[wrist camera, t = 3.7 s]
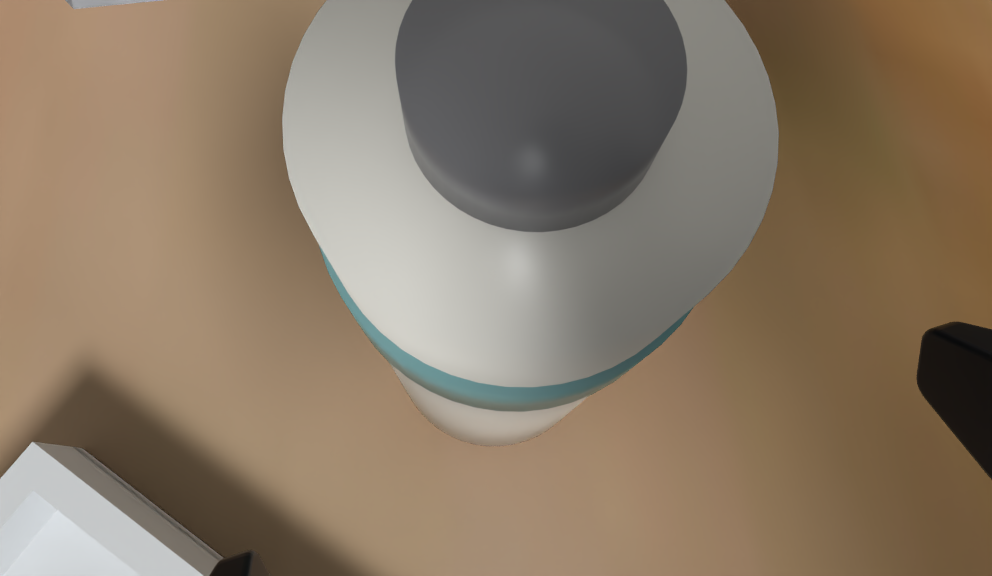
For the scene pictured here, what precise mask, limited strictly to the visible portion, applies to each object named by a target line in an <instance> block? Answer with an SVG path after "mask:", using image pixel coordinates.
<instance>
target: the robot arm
mask: <svg viewBox="0 0 992 576" xmlns="http://www.w3.org/2000/svg"><path fill="white" fill-rule="evenodd" d="M917 384H918V387H919V390H920V391H921V393H922V395H923V396H924V398H925V399H926V400H927V401H928V403H929V404H930V405H931V406H932V408H933V409H934V410H935V411H936V412H937V414H938V415H939V416H940V417H941V419H942V420H943V421H944V422H945V423H946V425H947V426H948V427H949V428H950V430H951V431H952V432H953V433H954V434H955V436H956V437H957V438H958V439H959V441H960V442H961V443H962V444H963V445H964V447H965V448H966V449H967V450H968V452H969V453H970V454H971V455H972V456H973V458H974V459H975V460H976V461H977V463H978V464H979V465H980V466H981V467H982V469H983V470H984V471H985V472H986V473H987V475H988V476H989V477H990V478H991V479H992V329H987V328H983V327H979V326H975V325H971V324H967V323H963V322H950V323H947V324H944V325H940V326H937V327H934V328H931V329H929V330H927V331H926V332H925V334H924V335H923V337H922V341H921V348H920V355H919V362H918V369H917ZM209 576H270V574H269V572H268V571H267V569H266V567H265V565H264V563H263V561H262V559H261V557H260V556H259V554H258V553H257V552H255V551H254V550H247V551H244V552H241V553H237V554H234V555H231V556H228V557H225V558H223V559H221V560H220V561H219V562H218V563H217V564H216V565H215V567H214V568H213V570H212V572H211V573H210V575H209Z"/></svg>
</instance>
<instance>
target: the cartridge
mask: <svg viewBox="0 0 992 576" xmlns="http://www.w3.org/2000/svg"><path fill="white" fill-rule="evenodd" d="M282 126H283V149H284V154H285V160H286V165H287V170H288V175H289V180H290V183H291V185H292V188H293V191H294V194H295V197H296V200H297V203H298V205H299V208H300V210H301V212H302V214H303V216H304V218H305V220H306V222H307V223H308V225H309V227H310V229H311V231H312V233H313V235H314V237H315V238H316V240H317V242H318V244H319V246H320V250H321V253H322V255H323V258H324V261H325V264H326V267H327V270H328V273H329V275H330V276H331V278H332V280H333V282H334V284H335V286H336V288H337V290H338V292H339V294H340V296H341V297H342V299H343V301H344V302H345V304H346V305H347V307H348V308H349V310H350V311H351V313H352V315H353V316H354V318H355V319H356V321H357V322H358V324H359V326H360V327H361V329H362V330H363V331H364V333H365V334H366V336H367V337H368V338H369V340H370V341H371V343H372V344H373V345H374V347H375V348H376V349H377V350H378V351H379V352H380V353H381V354H382V355H383V356H384V357H385V358H386V360H387V361H388V362H389V363H390V365H391V366H392V368H393V370H394V371H395V373H396V375H397V376H398V378H399V380H400V381H401V383H402V385H403V386H404V388H405V390H406V391H407V393H408V395H409V397H410V398H411V400H412V401H413V403H414V404H415V406H416V407H417V408H418V410H419V411H420V412H421V413H422V414H423V416H424V417H425V418H426V419H427V420H428V421H429V422H431V423H432V424H433V425H434V426H436V427H437V428H438V429H440V430H441V431H443V432H444V433H446V434H448V435H449V436H452V437H454V438H456V439H459V440H461V441H464V442H468V443H471V444H475V445H482V446H506V445H513V444H517V443H521V442H525V441H527V440H530V439H532V438H535V437H537V436H539V435H540V434H542V433H544V432H546V431H547V430H549V429H550V428H551V427H553V426H554V425H555V424H556V423H558V422H559V421H560V420H561V419H562V418H564V417H565V416H566V415H567V414H568V413H569V412H571V411H572V410H573V409H574V408H575V407H576V406H578V405H579V404H580V403H581V402H582V401H584V400H585V399H586V398H587V397H588V396H589V395H592V394H594V393H596V392H597V391H599V390H601V389H603V388H604V387H606V386H608V385H610V384H611V383H613V382H614V381H616V380H617V379H618V378H620V377H621V376H622V375H624V374H625V373H626V372H627V371H629V370H630V369H631V368H633V367H634V366H635V365H636V364H638V363H639V362H640V361H641V360H643V359H644V358H645V357H646V356H648V355H649V354H650V353H651V352H653V351H654V350H655V349H656V348H658V347H659V346H660V345H661V344H662V343H663V342H664V341H665V340H666V339H667V338H668V337H669V336H670V335H671V334H672V333H673V332H674V331H675V330H676V329H677V328H678V327H679V326H680V325H681V324H682V322H683V321H684V319H685V318H686V317H687V315H688V314H689V313H690V311H691V310H692V309H693V307H694V306H695V305H696V304H697V303H699V302H700V301H701V300H702V299H703V298H704V297H706V296H707V295H708V294H709V293H710V292H711V291H712V290H713V289H714V288H715V287H716V286H717V285H718V284H719V283H720V282H721V281H722V280H723V279H724V278H725V277H726V276H727V275H728V273H729V272H730V271H731V270H732V269H733V267H734V266H735V265H736V263H737V262H738V260H739V259H740V258H741V256H742V255H743V253H744V252H745V251H746V249H747V248H748V247H749V245H750V243H751V241H752V239H753V237H754V235H755V233H756V231H757V229H758V227H759V226H760V224H761V222H762V220H763V217H764V214H765V211H766V208H767V205H768V202H769V200H770V197H771V194H772V190H773V185H774V180H775V174H776V169H777V163H778V139H779V131H778V122H777V113H776V104H775V100H774V97H773V93H772V89H771V85H770V81H769V77H768V74H767V72H766V69H765V67H764V65H763V62H762V60H761V57H760V55H759V52H758V50H757V48H756V46H755V45H754V43H753V41H752V39H751V38H750V36H749V34H748V32H747V31H746V29H745V27H744V25H743V24H742V23H741V21H740V20H739V19H738V17H737V16H736V15H735V13H734V12H733V11H732V9H731V8H730V7H729V5H728V4H727V3H726V1H725V0H327V1H326V2H325V3H324V5H323V6H322V7H321V8H320V10H319V11H318V12H317V14H316V16H315V17H314V19H313V21H312V22H311V24H310V26H309V27H308V29H307V31H306V33H305V34H304V36H303V38H302V41H301V43H300V46H299V48H298V50H297V53H296V55H295V57H294V60H293V62H292V66H291V70H290V74H289V78H288V82H287V85H286V89H285V98H284V107H283V116H282Z"/></svg>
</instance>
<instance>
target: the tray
mask: <svg viewBox="0 0 992 576" xmlns="http://www.w3.org/2000/svg"><path fill="white" fill-rule="evenodd" d="M221 559H223V557H222V556H221V555H219V554H218V553H217V552H215V551H214V550H213V549H212V548H210V547H209V546H208V545H206V544H205V543H204V542H203V541H201V540H200V539H199V538H197V537H196V536H195V535H194V534H192V533H191V532H190V531H188V530H187V529H186V528H184V527H183V526H182V525H181V524H179V523H178V522H177V521H175V520H174V519H173V518H172V517H170V516H169V515H168V514H166V513H165V512H164V511H163V510H161V509H160V508H159V507H157V506H156V505H155V504H154V503H152V502H151V501H150V500H148V499H147V498H146V497H144V496H143V495H142V494H141V493H139V492H138V491H137V490H135V489H134V488H133V487H132V486H130V485H129V484H128V483H126V482H125V481H124V480H123V479H121V478H120V477H119V476H117V475H116V474H115V473H114V472H112V471H111V470H110V469H108V468H107V467H106V466H105V465H103V464H102V463H101V462H99V461H98V460H97V459H95V458H94V457H93V456H92V455H90V454H89V453H88V452H86V451H85V450H84V449H83V448H78V447H71V446H63V445H55V444H47V443H39V442H32V443H31V444H30V445H29V446H28V447H27V449H26V450H25V451H24V452H23V453H22V454H21V455H20V457H19V458H18V459H17V460H16V461H15V462H14V464H13V465H12V466H11V467H10V468H9V469H8V470H7V472H6V473H5V474H4V475H3V476H2V477H1V479H0V576H209V575H210V573H211V572H212V570H213V568H214V567H215V565H216V564H217V563H218V562H219V561H220V560H221Z"/></svg>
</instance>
